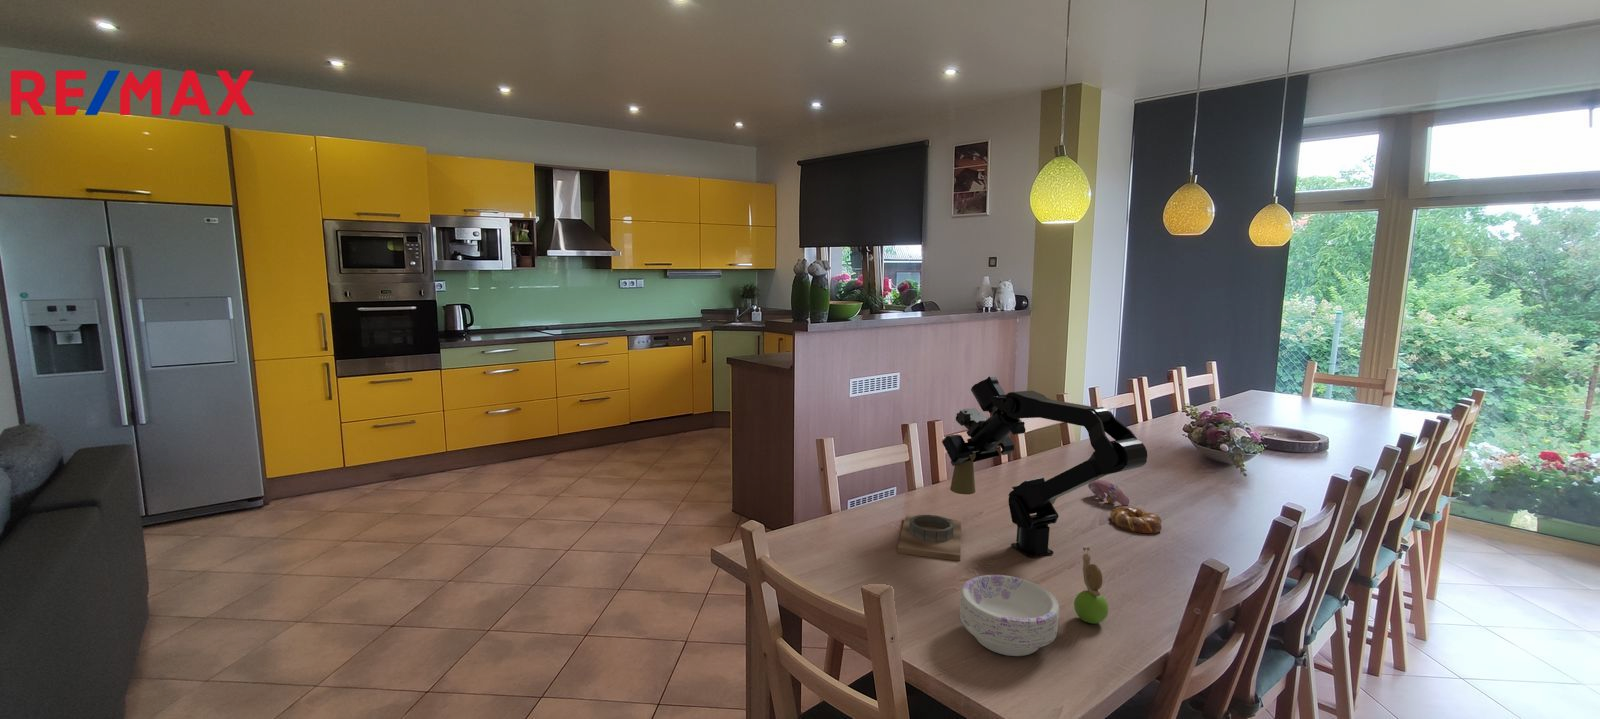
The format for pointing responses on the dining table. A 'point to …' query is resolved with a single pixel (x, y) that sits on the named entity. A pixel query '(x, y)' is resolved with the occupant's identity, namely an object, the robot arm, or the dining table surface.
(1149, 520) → the pretzel
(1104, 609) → the snail figurine
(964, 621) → the paper bowls
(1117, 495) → the video game controller
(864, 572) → the dining table surface
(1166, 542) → the dining table surface
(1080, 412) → the robot arm
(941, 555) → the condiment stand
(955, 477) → the cork
